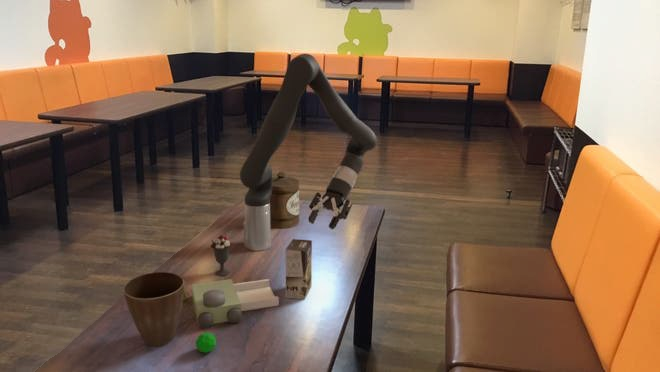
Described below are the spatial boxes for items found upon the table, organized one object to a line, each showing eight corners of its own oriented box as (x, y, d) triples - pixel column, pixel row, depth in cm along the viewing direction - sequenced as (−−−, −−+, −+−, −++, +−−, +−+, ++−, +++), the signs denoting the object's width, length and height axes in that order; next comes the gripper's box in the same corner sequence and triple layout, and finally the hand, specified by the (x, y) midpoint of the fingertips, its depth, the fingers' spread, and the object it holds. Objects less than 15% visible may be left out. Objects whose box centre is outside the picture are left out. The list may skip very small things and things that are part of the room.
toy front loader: (192, 296, 166) (190, 274, 164) (268, 285, 174) (268, 264, 171) (198, 329, 148) (197, 305, 146) (284, 315, 156) (283, 292, 154)
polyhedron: (192, 353, 138) (191, 337, 136) (203, 343, 142) (202, 327, 141) (209, 358, 136) (208, 341, 135) (220, 347, 140) (219, 331, 139)
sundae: (236, 270, 184) (234, 229, 179) (224, 278, 178) (222, 236, 174) (220, 266, 186) (218, 226, 182) (208, 274, 181) (206, 232, 176)
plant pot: (155, 362, 134) (150, 304, 129) (116, 343, 141) (110, 288, 137) (199, 334, 146) (196, 280, 141) (161, 318, 153) (157, 267, 149)
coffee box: (305, 300, 165) (305, 251, 160) (285, 297, 166) (284, 249, 162) (312, 286, 174) (312, 239, 169) (292, 284, 175) (292, 238, 170)
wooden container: (297, 228, 222) (297, 177, 216) (261, 228, 222) (260, 176, 216) (300, 216, 236) (300, 167, 230) (266, 215, 236) (265, 167, 230)
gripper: (320, 173, 180) (298, 215, 175) (354, 180, 171) (332, 224, 166) (330, 185, 186) (309, 225, 180) (364, 192, 177) (343, 235, 172)
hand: (320, 225), depth 173 cm, fingers open, 8 cm apart
